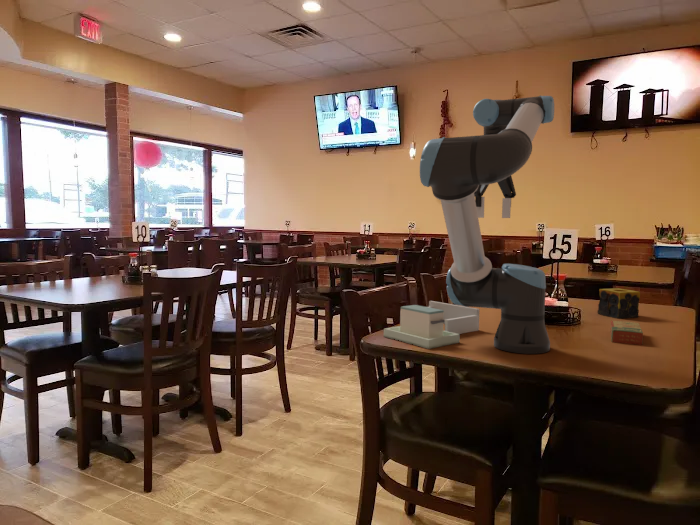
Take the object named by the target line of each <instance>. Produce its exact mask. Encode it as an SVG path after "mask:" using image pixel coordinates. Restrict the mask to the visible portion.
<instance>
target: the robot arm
mask: <svg viewBox="0 0 700 525" xmlns="http://www.w3.org/2000/svg"><path fill="white" fill-rule="evenodd" d="M472 116H473V119H474V121H476V123H477V124H478V125H479V126H481V127H483V134H481V135H469V136H468V135H467V136H457V137H456V136H455V137H453V136H451V137H446V136H443V137H440V138H432V139H430V140H428V141H427V142H426V143H425V144H424V146H423V149H422V151H421V156H420V162H419V179H420V183H421V185H422V186H424V187H427V188H430V187H431V191H432V195H433V197H435V198H436V199H437V200H440V204H441V208H442V213H443V218H444V222H445V226H446V232H447V235H448V236H447V237H448V239H449V240H448V241H449V245H450V250H451V255H452V258H453V263H452V264H451V267H450V268H449V269H448V271H447V273H446V279H445V284H446V292H447V296H448V298H449V300H450V301H451V303H452V304H453V305H459V306H464V307H470V308H484V309H495V310H497V309H498V310H500V321H499V324H498V327H497V329H496V332H495V333H494V334H495V335H494V337H493V347H494V348H496V349H498V350H501V351H503V352H509V353H515V354H523V355H524V354H527V355H529V354H530V355H536V354H544V353H547V352H549V351H551V341H550V337H549V333H548V331H547V326H546V324H545V323H546V322H545V311H546V310H545V309H546V303H545V302H546V289H547V284H546V283H547V282H546V280H547V279H546V274H545V271H544V270H542V269H540V268H537V267H535V266H534V267H532V266H530V265H523V264H518V263H503V264H502V266H501V268H498V267H497V268H495V267H493V265H492V262H491V260H490V258H488V257H487V256H485V250H484V245H483V238H482V237H483V236H482V232H481V227H480V226H481V225H480V222H479V219H480V218H482V219H484V218H485V196H483V195H484V194H485V192H486V190H487V189H488V187H489V185H493V184H496V183H497V185H498V187H499V189H500V191H501V193H502V195H503V197H502V203H501V204H502V206H501V208H502V210H501V218H502V219H511V210H512V199H514V198H515V197H516V196H517V192H516V189H515V185H514V179H513V178H512V176H513V175H514V174H515V173H517V172H519V170H520V169H522V168H523V167H524V166H525V165H526V163H527V162H528V161H529V159H530V156H531V155H532V152H533V141H534V138H535V136H536V134H537V132H538V131H539V128H540V126H541V124H542V125H544V124H547V123H552V122H553V120H554V116H555V100H554V97H553V96H552V95H539V96H530V97H528V96H527V97H520V98H510V99H491V98H483V99H481V100H479V101H478V102H477V103H476V104H475V105H474V107H473V111H472Z"/></svg>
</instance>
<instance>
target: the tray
mask: <svg viewBox="0 0 700 525" xmlns="http://www.w3.org/2000/svg"><path fill="white" fill-rule="evenodd" d="M460 335H461V334H457V333H452V332H448V331H445V329H443V336H442V337H436V338H431V339H427V338H423V337H419V336H415V335H411V334H407V333H403V332H400V325H398V326H392V327H386V328H383V338H388V339H391V340H394V339H395V341H398V340H399V342H401V341H402V343H406V344H409V345H412V344H413V345H412V346H417V347H420V348H424V349H426V350H430V349H434V348H440V347H444V346H449V345H455V344H458V343H460V340H461V339H460Z"/></svg>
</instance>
